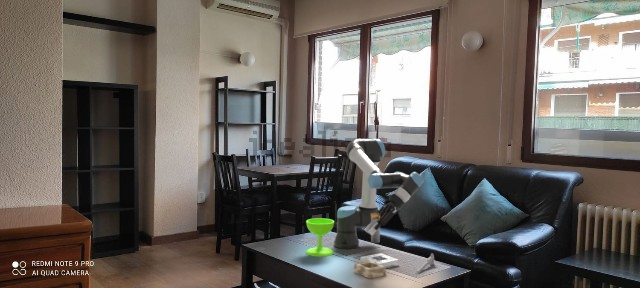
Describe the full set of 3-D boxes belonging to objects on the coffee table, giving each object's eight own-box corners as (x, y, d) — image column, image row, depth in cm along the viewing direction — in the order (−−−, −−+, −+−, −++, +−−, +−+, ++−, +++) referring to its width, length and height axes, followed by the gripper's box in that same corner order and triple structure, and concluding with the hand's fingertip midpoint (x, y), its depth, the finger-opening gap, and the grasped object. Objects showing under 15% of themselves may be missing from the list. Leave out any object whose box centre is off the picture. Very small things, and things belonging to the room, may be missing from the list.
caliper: (432, 264, 239) (432, 252, 239) (434, 264, 239) (434, 252, 238) (415, 274, 223) (415, 261, 223) (417, 274, 222) (417, 261, 222)
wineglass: (334, 249, 265) (335, 218, 264) (332, 257, 249) (333, 224, 248) (307, 248, 266) (307, 217, 266) (303, 256, 250) (304, 223, 250)
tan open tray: (354, 271, 225) (354, 263, 224) (369, 268, 230) (370, 260, 230) (369, 278, 215) (370, 270, 214) (385, 275, 220) (385, 266, 220)
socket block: (360, 262, 240) (360, 257, 239) (380, 258, 247) (380, 253, 247) (378, 269, 228) (378, 263, 228) (398, 265, 236) (398, 259, 236)
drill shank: (368, 241, 226) (368, 213, 225) (375, 240, 228) (375, 212, 228) (374, 243, 222) (375, 214, 221) (381, 241, 225) (382, 213, 224)
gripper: (411, 206, 220) (379, 241, 216) (396, 200, 237) (366, 233, 233) (401, 195, 218) (369, 231, 215) (387, 190, 235) (357, 223, 232)
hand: (368, 232), depth 224 cm, fingers closed on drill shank, 4 cm apart
